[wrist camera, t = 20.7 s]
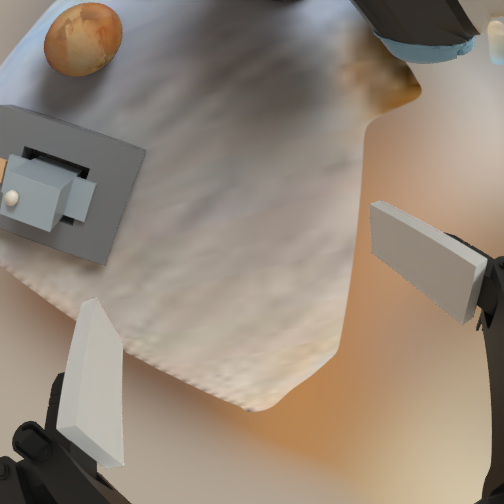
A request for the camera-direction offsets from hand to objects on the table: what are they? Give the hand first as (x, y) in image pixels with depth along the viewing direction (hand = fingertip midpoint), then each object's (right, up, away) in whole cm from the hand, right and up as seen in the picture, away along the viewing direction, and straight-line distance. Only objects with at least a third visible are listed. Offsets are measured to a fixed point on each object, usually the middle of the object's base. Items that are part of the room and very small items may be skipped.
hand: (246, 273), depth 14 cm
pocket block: (-27, +11, +23) cm, 37 cm away
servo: (-27, +11, +23) cm, 37 cm away
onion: (-21, +28, +17) cm, 38 cm away
